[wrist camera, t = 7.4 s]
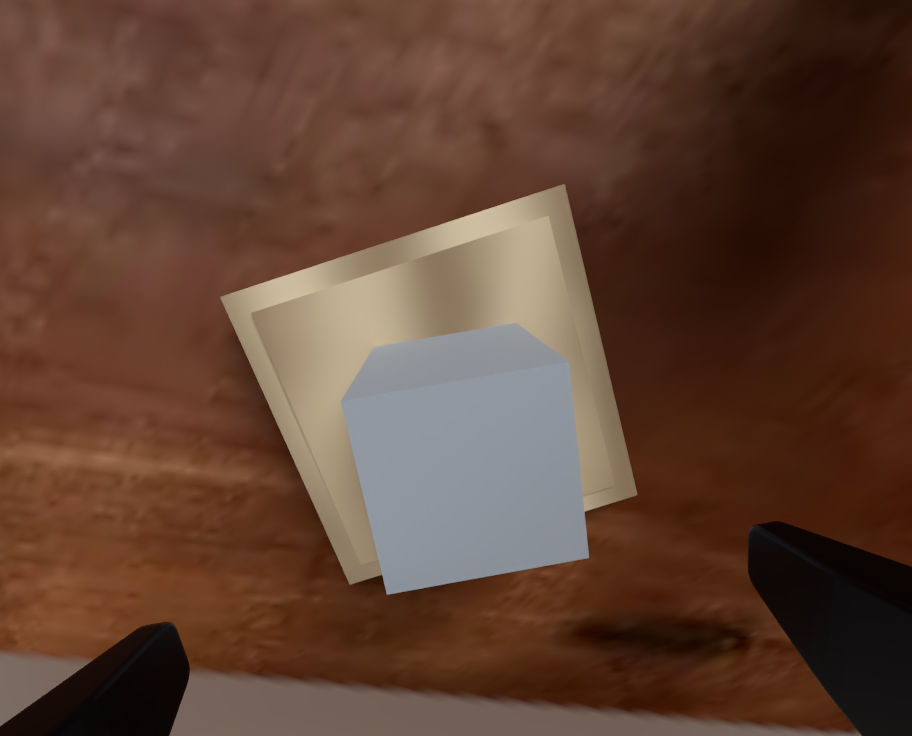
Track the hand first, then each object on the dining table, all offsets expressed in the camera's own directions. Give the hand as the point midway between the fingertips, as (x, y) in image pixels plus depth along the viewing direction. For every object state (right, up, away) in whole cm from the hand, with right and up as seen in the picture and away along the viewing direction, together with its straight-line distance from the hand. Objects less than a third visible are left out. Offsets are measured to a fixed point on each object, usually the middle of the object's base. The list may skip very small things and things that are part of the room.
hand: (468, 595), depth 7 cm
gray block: (0, +2, +9) cm, 9 cm away
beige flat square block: (-1, +3, +12) cm, 13 cm away
